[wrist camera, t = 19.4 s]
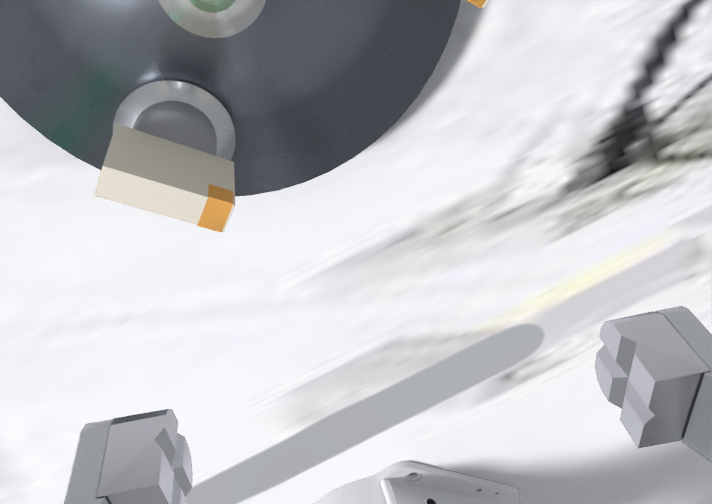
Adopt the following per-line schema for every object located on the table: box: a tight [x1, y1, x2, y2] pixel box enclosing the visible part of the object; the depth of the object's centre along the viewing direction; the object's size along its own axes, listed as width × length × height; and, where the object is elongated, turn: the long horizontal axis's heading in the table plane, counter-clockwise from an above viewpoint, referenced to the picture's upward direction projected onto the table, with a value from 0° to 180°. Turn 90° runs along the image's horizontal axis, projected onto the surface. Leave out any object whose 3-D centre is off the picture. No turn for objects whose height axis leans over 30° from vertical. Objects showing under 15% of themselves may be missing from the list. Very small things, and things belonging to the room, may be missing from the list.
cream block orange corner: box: [94, 101, 235, 232], centre depth 32 cm, size 6×4×6 cm
